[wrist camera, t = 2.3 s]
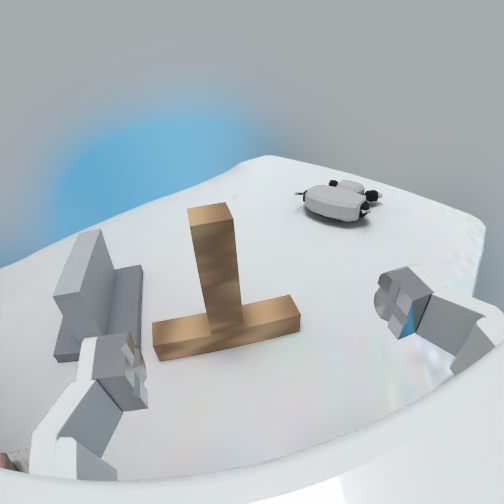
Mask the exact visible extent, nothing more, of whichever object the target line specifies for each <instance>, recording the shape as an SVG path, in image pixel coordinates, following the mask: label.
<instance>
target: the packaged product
mask: <svg viewBox="0 0 504 504" xmlns="http://www.w3.org/2000/svg"><path fill="white" fill-rule="evenodd" d="M30 449H31V447H30V448H28V449H25V450H22V451H16V452H13V453H10V454H6V453H0V468H4V469H8V470H13V471H18V472H23V473H29V461H30Z"/></svg>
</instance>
